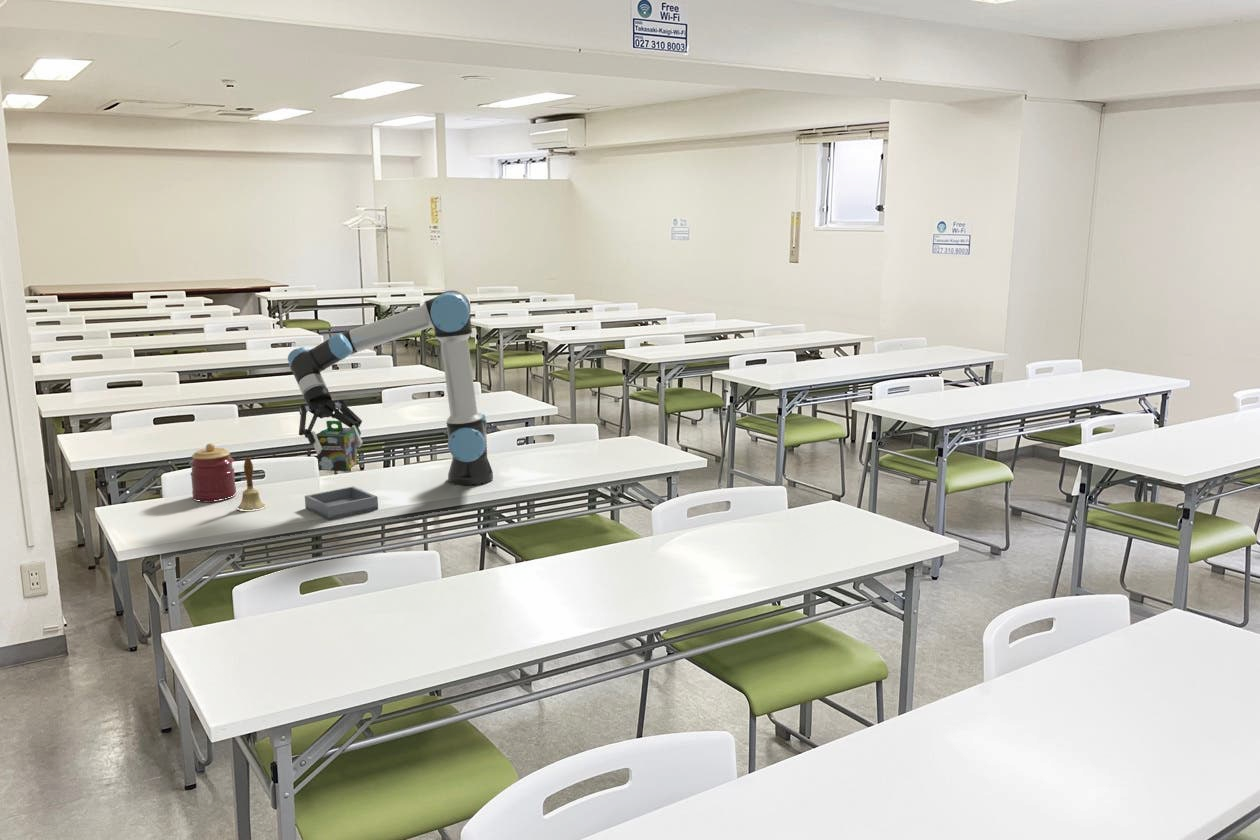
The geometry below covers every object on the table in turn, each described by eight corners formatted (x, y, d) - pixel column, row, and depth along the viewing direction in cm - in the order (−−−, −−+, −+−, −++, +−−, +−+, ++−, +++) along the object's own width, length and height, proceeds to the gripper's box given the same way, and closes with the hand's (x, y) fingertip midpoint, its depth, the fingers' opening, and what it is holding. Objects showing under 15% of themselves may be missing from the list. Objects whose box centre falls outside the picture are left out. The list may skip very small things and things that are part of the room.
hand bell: (271, 506, 301) (267, 456, 297) (251, 513, 293) (246, 462, 290) (251, 503, 304) (247, 453, 301) (231, 509, 297) (226, 459, 293)
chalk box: (358, 464, 299) (355, 417, 296) (346, 471, 290) (344, 423, 287) (329, 463, 300) (326, 416, 297) (317, 471, 291) (314, 422, 288)
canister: (224, 503, 304) (220, 448, 300) (184, 502, 304) (179, 448, 301) (243, 492, 316) (239, 439, 313) (205, 491, 317) (200, 438, 314)
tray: (353, 498, 308) (353, 486, 307) (378, 509, 297) (377, 496, 296) (305, 508, 298) (304, 495, 297) (328, 519, 286) (327, 506, 285)
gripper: (348, 394, 310) (373, 448, 302) (273, 404, 294) (298, 461, 286) (355, 380, 305) (381, 435, 297) (279, 389, 289) (304, 447, 281)
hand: (340, 448), depth 291 cm, fingers closed on chalk box, 12 cm apart
